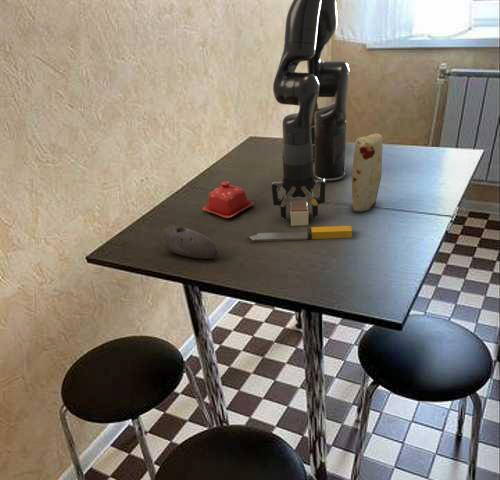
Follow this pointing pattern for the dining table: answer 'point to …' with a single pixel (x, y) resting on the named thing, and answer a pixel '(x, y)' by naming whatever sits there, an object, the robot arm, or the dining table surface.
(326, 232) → the knife
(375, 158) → the food model
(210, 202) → the butter dish
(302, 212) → the salt cellar
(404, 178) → the dining table surface
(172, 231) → the perforated stone tool
